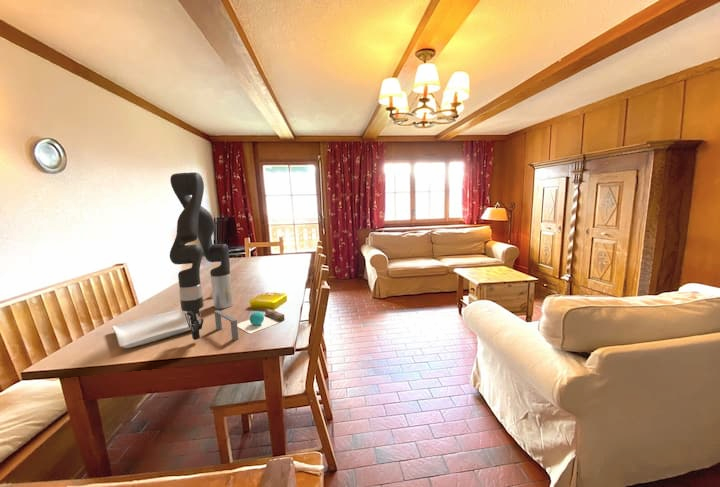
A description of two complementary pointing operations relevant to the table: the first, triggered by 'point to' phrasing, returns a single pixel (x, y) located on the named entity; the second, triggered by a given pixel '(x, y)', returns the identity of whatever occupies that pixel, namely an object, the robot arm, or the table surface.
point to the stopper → (274, 314)
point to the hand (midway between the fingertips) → (196, 338)
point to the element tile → (268, 300)
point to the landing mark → (254, 328)
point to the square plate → (151, 328)
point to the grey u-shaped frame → (233, 321)
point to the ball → (256, 318)
